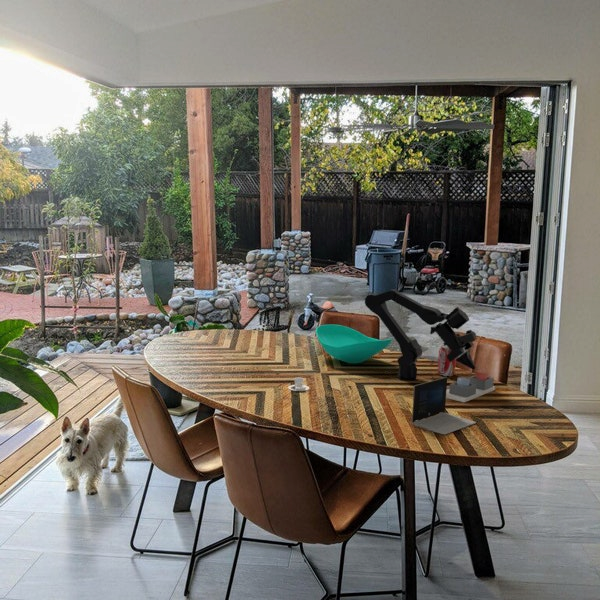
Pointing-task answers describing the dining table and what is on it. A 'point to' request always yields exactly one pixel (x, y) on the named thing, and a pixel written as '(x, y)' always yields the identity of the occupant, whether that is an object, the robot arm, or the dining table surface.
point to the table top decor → (348, 343)
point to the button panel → (470, 389)
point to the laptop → (435, 408)
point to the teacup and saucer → (299, 385)
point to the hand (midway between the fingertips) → (474, 368)
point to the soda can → (445, 362)
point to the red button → (481, 375)
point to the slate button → (463, 381)
